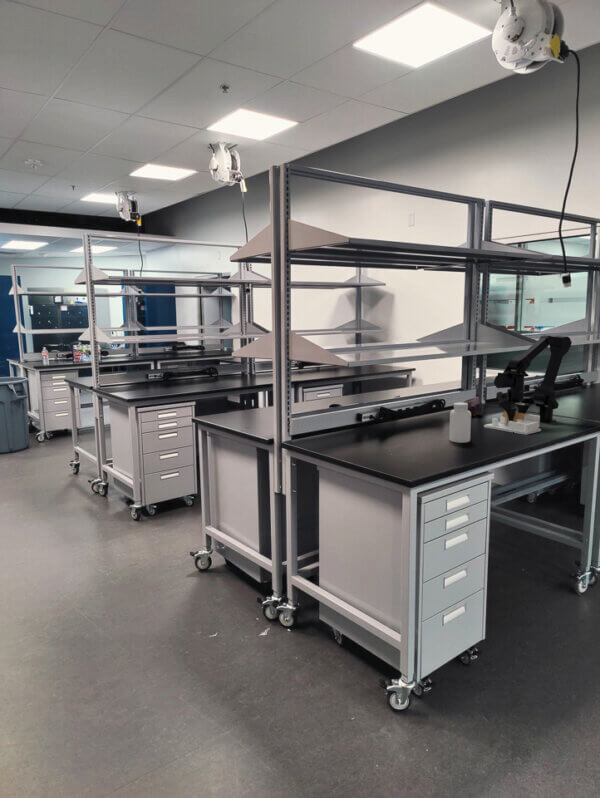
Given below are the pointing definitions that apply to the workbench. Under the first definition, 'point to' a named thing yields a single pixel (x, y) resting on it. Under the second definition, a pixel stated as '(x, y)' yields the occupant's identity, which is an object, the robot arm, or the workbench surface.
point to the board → (514, 426)
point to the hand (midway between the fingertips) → (515, 421)
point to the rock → (474, 405)
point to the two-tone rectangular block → (523, 417)
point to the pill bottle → (460, 423)
